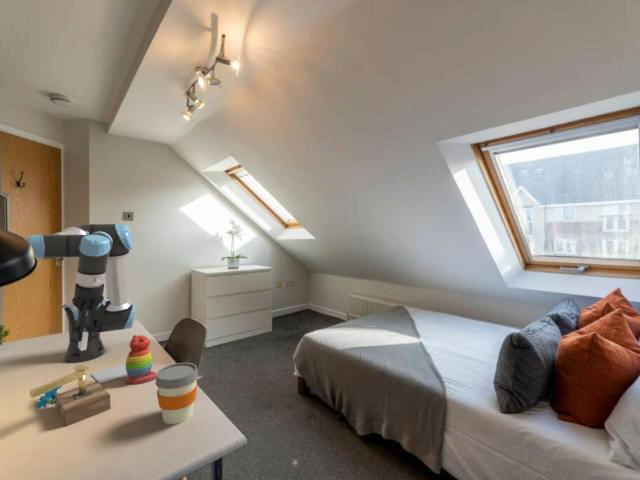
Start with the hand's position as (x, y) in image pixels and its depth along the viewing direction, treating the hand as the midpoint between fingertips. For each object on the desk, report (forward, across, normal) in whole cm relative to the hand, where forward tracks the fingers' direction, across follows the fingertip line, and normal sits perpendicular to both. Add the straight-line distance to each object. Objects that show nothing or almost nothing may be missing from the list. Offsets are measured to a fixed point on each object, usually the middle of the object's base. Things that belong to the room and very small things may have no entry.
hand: (82, 348), depth 104 cm
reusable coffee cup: (+12, +17, -34) cm, 40 cm away
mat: (+26, +17, +13) cm, 34 cm away
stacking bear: (+22, +22, 0) cm, 31 cm away
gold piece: (+15, -6, -6) cm, 17 cm away
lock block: (+20, 0, -6) cm, 21 cm away
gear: (+25, -4, +7) cm, 26 cm away
